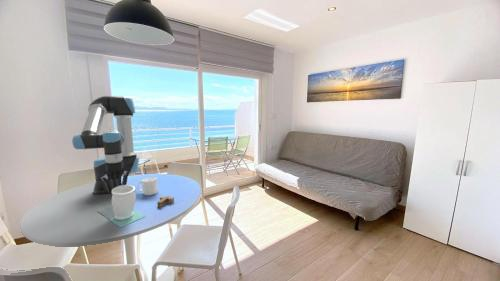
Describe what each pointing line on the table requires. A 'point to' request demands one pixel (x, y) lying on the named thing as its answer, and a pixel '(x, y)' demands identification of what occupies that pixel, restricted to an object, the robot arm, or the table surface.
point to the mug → (149, 186)
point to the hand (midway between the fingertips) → (118, 204)
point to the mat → (110, 215)
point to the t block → (165, 200)
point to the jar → (123, 201)
